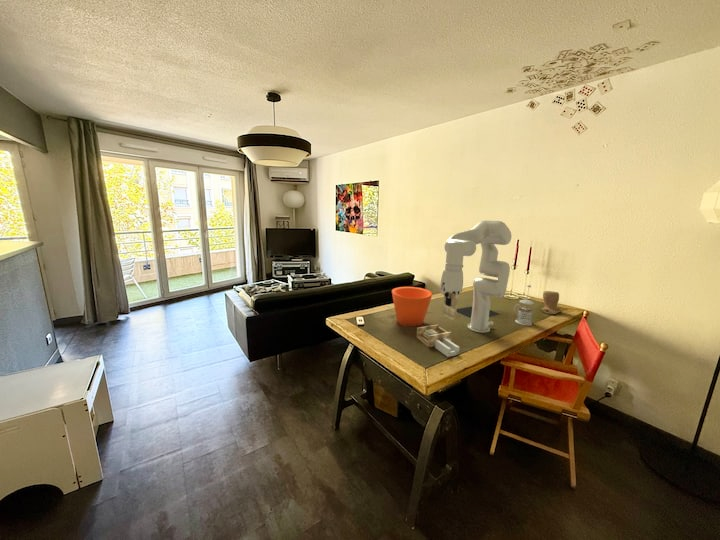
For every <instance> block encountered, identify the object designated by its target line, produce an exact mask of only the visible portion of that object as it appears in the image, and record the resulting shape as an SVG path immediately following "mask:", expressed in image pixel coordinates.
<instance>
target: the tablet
mask: <svg viewBox="0 0 720 540" xmlns="http://www.w3.org/2000/svg"><path fill="white" fill-rule="evenodd" d="M458 313H459V314H458ZM456 314H458V315H461V316H463V317H466V318H468V319H470V320H471V315H472V306H466V307H461V308H457V312H456ZM501 315H502V314H501V313H498V312H496V311H494V310H491V309H490V311H489V318H492V317H496V316H501Z"/></svg>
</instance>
